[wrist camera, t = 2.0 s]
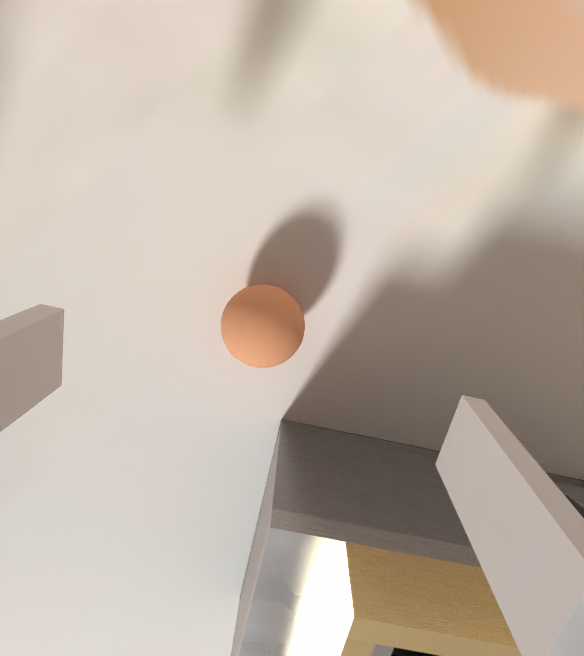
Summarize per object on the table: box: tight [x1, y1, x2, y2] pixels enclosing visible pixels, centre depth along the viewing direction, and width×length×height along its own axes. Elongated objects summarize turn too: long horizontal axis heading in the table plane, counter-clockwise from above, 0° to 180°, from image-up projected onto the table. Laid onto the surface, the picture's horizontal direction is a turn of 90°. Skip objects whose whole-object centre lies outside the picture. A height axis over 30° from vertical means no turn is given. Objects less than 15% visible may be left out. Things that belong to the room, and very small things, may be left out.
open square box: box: [231, 420, 584, 656], centre depth 21 cm, size 20×14×11 cm
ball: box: [221, 284, 305, 368], centre depth 20 cm, size 4×4×4 cm
